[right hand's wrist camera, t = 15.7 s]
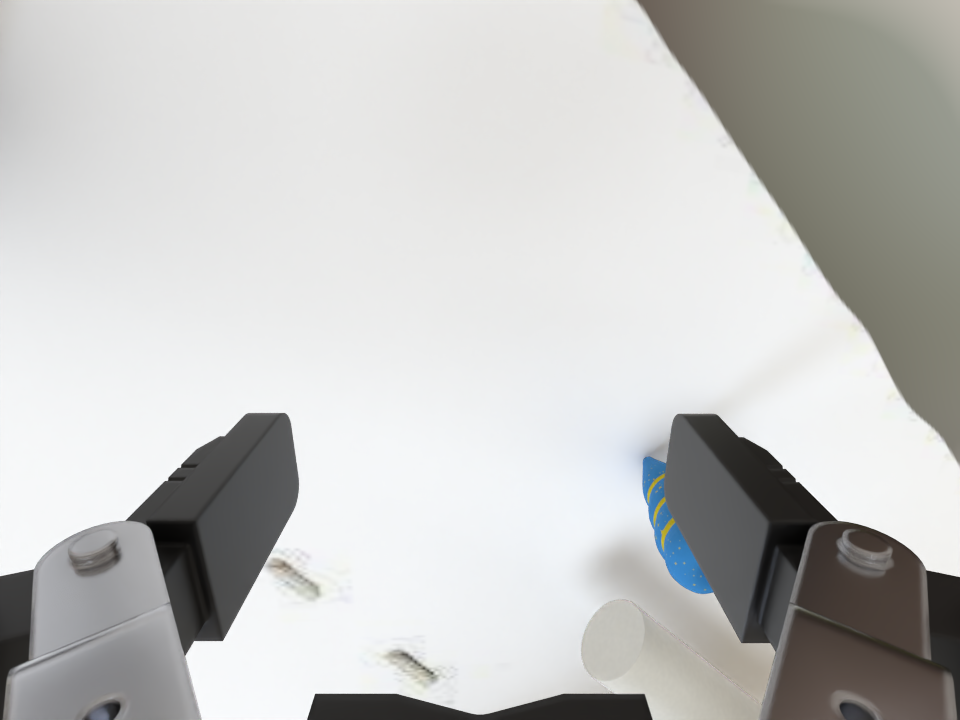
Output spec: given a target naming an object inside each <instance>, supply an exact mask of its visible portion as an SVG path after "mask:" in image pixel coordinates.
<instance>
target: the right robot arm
mask: <svg viewBox="0 0 960 720" xmlns="http://www.w3.org/2000/svg"><path fill="white" fill-rule="evenodd" d="M298 491H299V478H298V471H297V463H296V456H295V449H294V442H293V435H292V428H291V423H290V419H289V417H288V415H287V414H285V413H248V414H246V415H245V416H244V417H243V418H242V419H241V420H240V421H239V422H238V423H237V424H236V425H235V426H234V427H233V428H232V429H231V430H230V431H229V433H228V434H227V435H226V436H220V437H218V438H216V439H214V440H213V441H211V442H209V443H207V444H205V445H204V446H202V447H200V448H198V449H197V450H196V451H195V452H194V453H193V454H192V455H191V456H190V457H189V458H188V459H187V460H186V461H185V462H184V463H183V464H182V465H181V468H178V469H177V470H176V471H175V472H174V473H173V474H172V475H171V476H170V477H169V478H168V481H165V482H164V483H163V484H162V485H161V486H160V487H159V488H158V489H157V490H156V491H155V492H154V493H153V494H152V495H151V496H150V497H149V498H148V499H147V500H146V501H145V502H144V503H143V504H142V505H141V506H140V507H139V508H138V509H137V510H136V511H135V512H134V513H133V514H132V515H131V516H130V517H129V518H128V519H127V520H126V521H118V522H111V523H106V524H102V525H98V526H94V527H91V528H89V529H86V530H83V531H81V532H79V533H76V534H74V535H72V536H70V537H68V538H67V539H65V540H63V541H62V542H60V543H58V544H57V545H55V546H54V547H53V548H51V549H50V550H49V551H48V552H47V553H46V554H45V555H44V556H43V557H42V558H41V559H40V560H39V562H38V563H37V565H36V567H35V569H34V570H29V571H24V572H19V573H14V574H10V575H5V576H0V720H202V719H201V715H200V711H199V707H198V704H197V700H196V696H195V692H194V688H193V684H192V681H191V677H190V673H189V669H188V665H187V662H186V658H185V655H186V654H187V652H188V650H189V649H190V647H191V645H192V644H193V642H194V641H223V640H224V638H225V636H226V634H227V632H228V631H229V629H230V627H231V625H232V623H233V621H234V619H235V618H236V616H237V614H238V612H239V610H240V608H241V606H242V605H243V603H244V601H245V599H246V597H247V595H248V594H249V592H250V590H251V588H252V586H253V584H254V582H255V581H256V579H257V577H258V575H259V573H260V571H261V569H262V568H263V566H264V564H265V562H266V560H267V558H268V557H269V555H270V553H271V551H272V549H273V547H274V545H275V544H276V542H277V540H278V538H279V536H280V534H281V532H282V531H283V529H284V527H285V525H286V523H287V521H288V520H289V518H290V516H291V514H292V512H293V510H294V508H295V506H296V502H297V498H298ZM664 494H665V500H666V504H667V507H668V510H669V512H670V513H671V515H672V517H673V519H674V521H675V523H676V524H677V526H678V528H679V530H680V532H681V534H682V535H683V537H684V539H685V541H686V543H687V544H688V546H689V548H690V550H691V552H692V554H693V555H694V557H695V559H696V561H697V563H698V565H699V566H700V568H701V570H702V572H703V574H704V576H705V577H706V579H707V581H708V583H709V585H710V586H711V588H712V590H713V592H714V594H715V596H716V597H717V599H718V601H719V603H720V605H721V607H722V608H723V610H724V612H725V614H726V616H727V618H728V619H729V621H730V623H731V625H732V627H733V629H734V630H735V632H736V634H737V636H738V638H739V639H740V641H741V643H771V645H772V646H773V648H774V650H775V651H776V654H775V658H774V662H773V665H772V669H771V673H770V677H769V681H768V684H767V688H766V692H765V696H764V700H763V704H762V707H761V711H760V715H759V719H758V720H960V577H956V576H951V575H946V574H942V573H937V572H932V571H927V570H926V569H925V567H924V565H923V563H922V562H921V560H920V559H919V558H918V557H917V556H916V555H915V554H914V553H913V552H912V551H911V550H910V549H909V548H907V547H906V546H905V545H903V544H902V543H900V542H898V541H897V540H895V539H893V538H892V537H890V536H888V535H886V534H884V533H881V532H879V531H877V530H874V529H871V528H869V527H866V526H862V525H858V524H854V523H849V522H842V521H838V520H837V519H835V518H834V517H833V516H832V515H831V514H830V513H829V512H828V511H827V510H826V509H825V508H824V507H823V506H822V505H821V504H820V503H819V502H818V501H817V500H816V499H815V498H814V497H813V496H812V495H811V494H810V493H809V492H808V491H807V490H806V489H805V488H804V487H803V486H802V485H801V484H800V483H799V482H796V479H795V478H794V477H793V476H792V475H791V474H790V473H789V472H788V471H787V470H786V469H783V466H782V465H781V464H780V463H779V462H778V461H777V460H776V459H775V458H774V457H773V456H772V455H771V454H770V453H769V452H768V451H767V450H765V449H763V448H762V447H760V446H758V445H756V444H755V443H753V442H751V441H749V440H747V439H746V438H744V437H738V436H737V435H736V434H735V433H734V432H733V431H732V430H731V429H730V428H729V427H728V426H727V425H726V423H725V422H724V421H723V420H722V419H721V418H720V417H719V416H718V415H716V414H677V415H676V416H675V418H674V420H673V423H672V428H671V435H670V442H669V449H668V456H667V463H666V470H665V477H664ZM307 720H653V719H652V716H651V712H650V709H649V706H648V703H647V700H646V696H645V694H561V695H558V696H554V697H550V698H546V699H543V700H539V701H535V702H531V703H527V704H524V705H520V706H516V707H512V708H509V709H505V710H501V711H497V712H493V713H490V714H484V715H476V714H470V713H467V712H463V711H459V710H455V709H451V708H448V707H444V706H440V705H436V704H433V703H429V702H425V701H421V700H417V699H414V698H410V697H406V696H402V695H399V694H315V696H314V700H313V703H312V706H311V709H310V712H309V716H308V719H307Z"/></svg>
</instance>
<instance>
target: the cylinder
mask: <svg viewBox="0 0 960 720" xmlns="http://www.w3.org/2000/svg"><path fill="white" fill-rule="evenodd" d="M581 656H582V661H583V665H584V667H585V669H586V671H587V673H588V674H589V675H590V676H591V677H592V678H593V679H595V680H596V681H598V682H599V683H600V684H602V685H603V686H605V687H606V688H607V689H609V690H610V691H612V692H613V693H614V694H645V696H646V700H647V703H648V706H649V709H650V712H651V716H652V719H653V720H758V719H759V715H760V711H761V707H762V705H761V704H760V703H759V702H758V701H756V700H755V699H754V698H753V697H751V696H750V695H749V694H748V693H746V692H745V691H744V690H743V689H741V688H740V687H739V686H737V685H736V684H735V683H734V682H732V681H731V680H730V679H729V678H727V677H726V676H725V675H724V674H722V673H721V672H720V671H719V670H717V669H716V668H715V667H714V666H712V665H711V664H710V663H708V662H707V661H706V660H705V659H703V658H702V657H701V656H700V655H698V654H697V653H696V652H695V651H693V650H692V649H691V648H690V647H688V646H687V645H686V644H684V643H683V642H682V641H681V640H679V639H678V638H677V637H676V636H674V635H673V634H672V633H671V632H669V631H668V630H667V629H666V628H664V627H663V626H662V625H660V624H659V623H658V622H657V621H655V620H654V619H653V618H652V617H650V616H649V615H648V614H647V613H645V612H644V611H643V610H642V609H640V608H639V607H638V606H636V605H635V604H634V603H632V602H631V601H628V600H623V599H620V600H614V601H611V602H609V603H607V604H605V605H604V606H602V607H601V608H600V609H599V610H598V611H597V612H596V613H595V614H594V615H593V617H592V618H591V620H590V621H589V623H588V625H587V627H586V629H585V632H584V635H583V639H582V645H581Z"/></svg>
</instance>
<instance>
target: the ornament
mask: <svg viewBox="0 0 960 720" xmlns="http://www.w3.org/2000/svg"><path fill="white" fill-rule="evenodd" d="M665 470H666V463H663V462H661V461H658V460H656V459H653V458H651V457H646V458H644V460H643V494H644V498H645V500H646V503H647V505H648V506H649V519H650V522H651V525H652V527H653V529H654V531H655V541H656V545H657V548H658V550H659V552H660V554H661V555H662V557H663V558H664V559H665V562H666V566H667V568H668V570H669V573H670V574H671V576H672V577H673V578H674V579H675V580H676V581H677V582H678V583H679V584H680V585H682V586H683V587H685V588H686V589H688V590H691V591H693V592H695V593H700V594H707V593H713V590H712V588H711V586H710V585H709V583H708V581H707V579H706V577H705V576H704V574H703V572H702V570H701V568H700V566H699V565H698V563H697V561H696V559H695V557H694V555H693V554H692V552H691V550H690V548H689V546H688V544H687V543H686V541H685V539H684V537H683V535H682V534H681V532H680V530H679V528H678V526H677V524H676V523H675V521H674V519H673V517H672V515H671V513H670V512H669V510H668V507H667V504H666V500H665V494H664V477H665Z"/></svg>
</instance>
